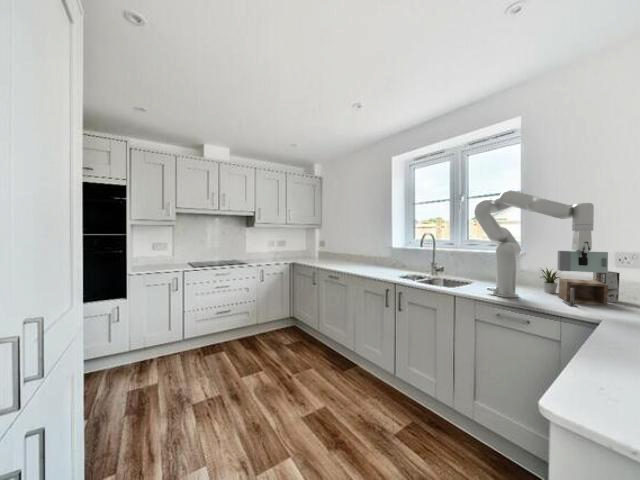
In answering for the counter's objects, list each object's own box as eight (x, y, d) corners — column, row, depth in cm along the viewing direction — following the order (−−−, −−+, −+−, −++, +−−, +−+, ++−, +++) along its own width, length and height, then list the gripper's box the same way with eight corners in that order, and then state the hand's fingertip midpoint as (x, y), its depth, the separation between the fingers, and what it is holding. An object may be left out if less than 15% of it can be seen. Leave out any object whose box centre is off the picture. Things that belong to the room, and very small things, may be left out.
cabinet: (569, 306, 136) (570, 284, 136) (555, 296, 156) (555, 278, 156) (617, 311, 128) (618, 288, 128) (596, 300, 148) (596, 280, 148)
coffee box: (619, 302, 144) (620, 272, 144) (604, 301, 146) (606, 272, 145) (604, 298, 153) (606, 270, 153) (591, 297, 154) (592, 269, 154)
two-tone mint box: (559, 270, 136) (560, 251, 136) (557, 269, 139) (557, 250, 139) (608, 273, 127) (609, 252, 127) (604, 272, 131) (605, 251, 131)
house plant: (527, 290, 173) (528, 265, 173) (542, 288, 178) (543, 264, 177) (552, 295, 160) (553, 268, 159) (567, 293, 164) (568, 267, 163)
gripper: (567, 228, 142) (566, 263, 142) (578, 228, 128) (577, 266, 128) (586, 228, 138) (585, 263, 138) (600, 227, 124) (599, 267, 125)
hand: (582, 264), depth 133 cm, fingers closed on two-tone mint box, 2 cm apart
